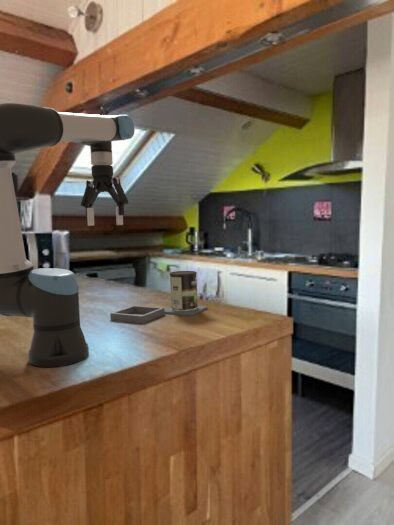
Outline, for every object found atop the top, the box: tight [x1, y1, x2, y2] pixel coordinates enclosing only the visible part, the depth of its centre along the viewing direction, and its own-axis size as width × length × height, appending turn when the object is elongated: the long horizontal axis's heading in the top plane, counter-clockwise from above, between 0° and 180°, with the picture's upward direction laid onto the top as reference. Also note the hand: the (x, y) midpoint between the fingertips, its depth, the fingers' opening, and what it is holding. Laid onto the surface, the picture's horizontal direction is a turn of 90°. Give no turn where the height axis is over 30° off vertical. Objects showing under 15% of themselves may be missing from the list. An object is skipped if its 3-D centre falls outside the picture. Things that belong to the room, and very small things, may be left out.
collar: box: [109, 305, 165, 324], centre depth 155 cm, size 14×14×2 cm
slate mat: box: [164, 305, 208, 317], centre depth 163 cm, size 13×13×1 cm
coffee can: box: [169, 270, 199, 312], centre depth 162 cm, size 10×10×14 cm
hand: (105, 225), depth 154 cm, fingers open, 13 cm apart
